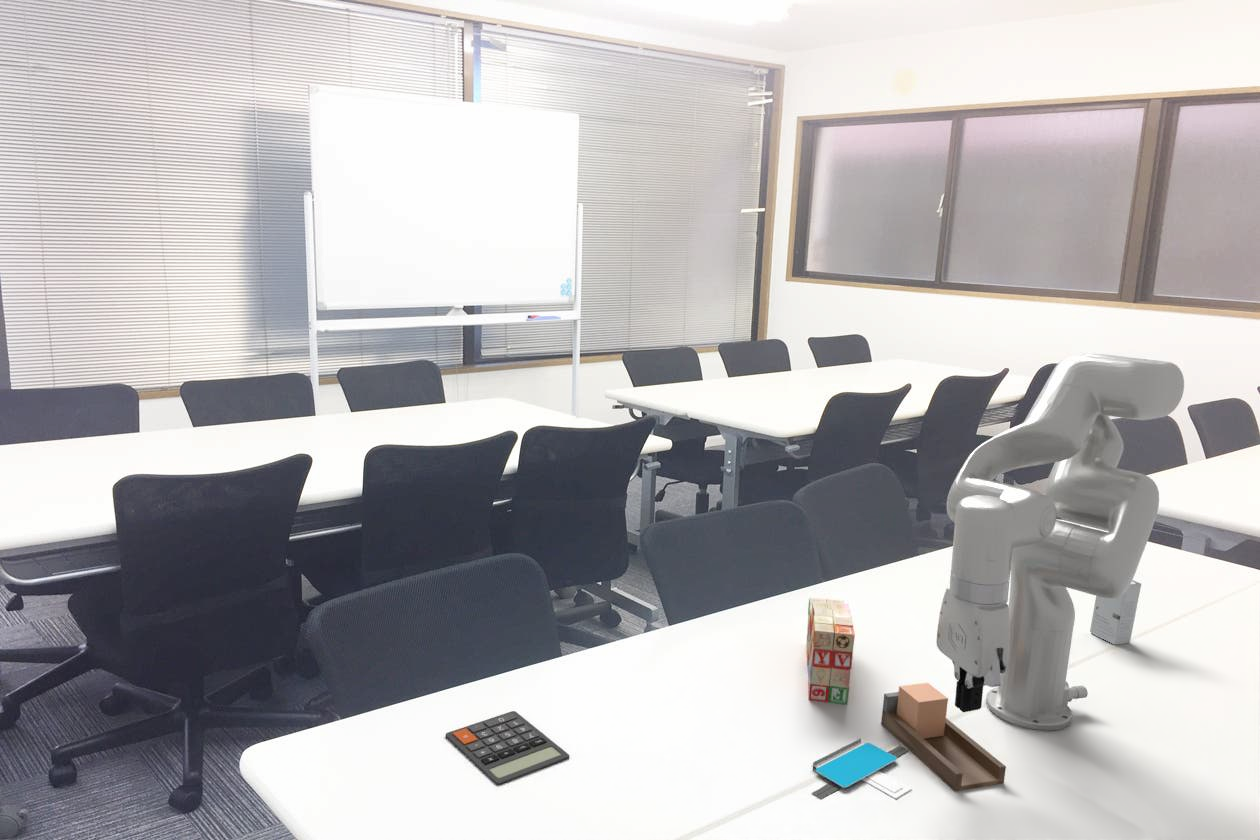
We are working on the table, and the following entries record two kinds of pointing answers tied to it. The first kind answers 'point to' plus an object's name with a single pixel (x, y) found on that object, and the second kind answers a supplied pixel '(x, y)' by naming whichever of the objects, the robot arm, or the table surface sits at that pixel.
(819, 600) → the stack of blocks
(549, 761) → the calculator
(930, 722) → the block
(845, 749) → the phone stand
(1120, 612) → the skincare box
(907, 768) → the table surface
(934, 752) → the chute
